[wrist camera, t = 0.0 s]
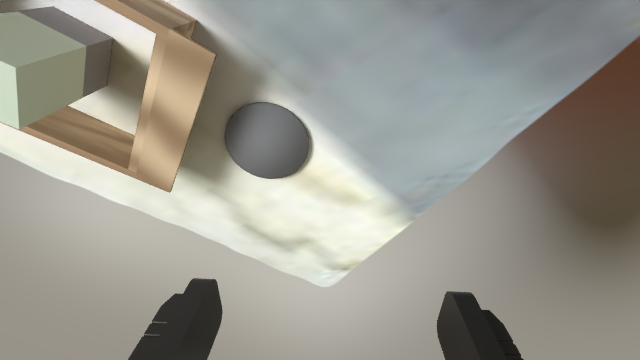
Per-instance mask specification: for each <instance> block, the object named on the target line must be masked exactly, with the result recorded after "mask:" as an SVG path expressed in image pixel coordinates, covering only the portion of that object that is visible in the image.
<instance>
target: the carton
mask: <svg viewBox="0 0 640 360" xmlns="http://www.w3.org/2000/svg"><path fill="white" fill-rule="evenodd" d="M95 1H97V2H99V3H101V4H103V5H104V6H106V7H108V8H110V9H112V10H114V11H115V12H117V13H119V14H121V15H123V16H125V17H127V18H128V19H130V20H132V21H134V22H136V23H138V24H139V25H141V26H143V27H145V28H147V29H149V30H150V31H152V32H154V33H156V37H155V42H154V47H153V52H152V57H151V61H150V66H149V71H148V76H147V81H146V85H145V90H144V95H143V100H142V105H141V109H140V114H139V119H138V124H137V129H136V133H135V136H133V135H131V134H129V133H126V132H124V131H122V130H120V129H118V128H115V127H113V126H111V125H109V124H106V123H104V122H102V121H100V120H98V119H95V118H93V117H91V116H89V115H86V114H84V113H82V112H80V111H77V110H75V109H73V108H71V107H69V106H65V107H63V108H61V109H59V110H57V111H55V112H53V113H51V114H49V115H47V116H45V117H43V118H41V119H39V120H37V121H35V122H33V123H31V124H29V125H27V126H25V127H23V128H21V129H17V128H15V129H17V130H20V131H22V132H25V133H27V134H29V135H32V136H34V137H37V138H39V139H41V140H44V141H46V142H49V143H51V144H54V145H56V146H58V147H61V148H63V149H66V150H68V151H70V152H73V153H75V154H78V155H80V156H82V157H85V158H87V159H90V160H92V161H95V162H97V163H99V164H102V165H104V166H107V167H109V168H111V169H114V170H116V171H119V172H121V173H123V174H126V175H128V176H131V177H133V178H136V179H138V180H140V181H143V182H145V183H148V184H150V185H152V186H155V187H157V188H160V189H162V190H164V191H167V192H169V193H170V192H171V190H172V187H173V184H174V181H175V178H176V175H177V172H178V169H179V166H180V163H181V160H182V157H183V154H184V151H185V148H186V145H187V142H188V139H189V136H190V133H191V130H192V127H193V124H194V121H195V118H196V115H197V112H198V109H199V106H200V103H201V100H202V97H203V94H204V91H205V88H206V85H207V82H208V79H209V76H210V74H211V71H212V68H213V65H214V62H215V59H216V56H217V53H215V52H214V51H212V50H210V49H208V48H206V47H205V46H203V45H201V44H199V43H197V42H196V41H194V40H192V39H191V37H192V33H193V30H194V26H195V22H196V19H194V18H192V17H190V16H189V15H187V14H185V13H183V12H182V11H180V10H178V9H176V8H175V7H173V6H171V5H170V4H168V3H166V2H164V1H163V0H95ZM0 123H2V122H0ZM3 124H5V123H3ZM5 125H7V124H5ZM8 126H9V125H8ZM10 127H12V126H10ZM12 128H14V127H12Z"/></svg>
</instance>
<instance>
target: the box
mask: <svg viewBox="0 0 640 360" xmlns="http://www.w3.org/2000/svg"><path fill="white" fill-rule="evenodd" d="M112 43H113V38H112V37H110V36H108V35H106V34H105V33H103V32H101V31H99V30H97V29H95V28H93V27H91V26H89V25H87V24H85V23H83V22H82V21H80V20H78V19H76V18H74V17H72V16H70V15H68V14H66V13H64V12H62V11H60V10H59V9H57V8H55V7H45V8H38V9H30V10H22V11H14V12H7V13H0V122H2V123H5V124H7V125H9V126H12V127H14V128H17V129H21V128H23V127H25V126H27V125H29V124H31V123H33V122H35V121H37V120H39V119H41V118H43V117H45V116H47V115H49V114H51V113H53V112H55V111H57V110H59V109H61V108H63V107H65V106H67V105H69V104H71V103H73V102H75V101H77V100H79V99H81V98H83V97H85V96H87V95H89V94H91V93H93V92H95V91H97V90H99V89H101V88H103V87H105V86H107V82H108V74H109V67H110V59H111V51H112Z"/></svg>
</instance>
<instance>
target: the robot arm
mask: <svg viewBox="0 0 640 360" xmlns="http://www.w3.org/2000/svg"><path fill="white" fill-rule="evenodd" d="M221 319H222V305H221V300H220V295H219V291H218V285H217V281H216V280H215V279H198V278H194V279H192V280H191V281H190V283H189V284H188V286H187V288H186V290H185V292H184V293H183V294H174V295H173V296H172V297H171V298H170V299H169V300H167V302H165V303H164V304H163V305H162V306H161V307H160V309H159V311H158V312H157V314H156V315H155V317H154V319H153V320H152V324H150V325H149V327H148V328H147V330H146V332H145V333H144V337H142V338H141V340H140V341H139V343H138V344H137V346H136V348H135V349H134V351H133V352H132V354H131V356H130V357H129V359H128V360H207V358H208V356H209V353H210V350H211V348H212V345H213V343H214V340H215V337H216V335H217V332H218V330H219V327H220V324H221ZM437 333H438V338H439V342H440V344H441V348H442V351H443V354H444V357H445V360H523V359H522V358H521V354H520V353H519V351H518V349H517V347H516V345H514V344H513V340H512V339H511V337H510V335H509V333H508V332H507V330H506V328H505V326H504V325H503V323H502V322H500V320H498V319H497V317H496V316H495V315H494V314H493V313H492V312H490V311H489V310H481V308H480V306H479V304H478V302H477V300H476V298H475V297H474V295H473V294H472V293H469V292H450V291H449V292H446V294H445V297H444V301H443V303H442V307H441V310H440V313H439V317H438V320H437Z"/></svg>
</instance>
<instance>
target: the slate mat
mask: <svg viewBox="0 0 640 360" xmlns="http://www.w3.org/2000/svg"><path fill="white" fill-rule="evenodd" d="M225 143H226V147H227V150H228V152H229V154H230V156H231V157H232V159H233V160H234V161H235V162H236V164H237V165H238V166H240V167H241V168H242V169H243V170H245V171H246V172H248V173H250V174H252V175H255V176H258V177H261V178H268V179H276V178H282V177H286V176H288V175H291V174H292V173H294V172H295V171H297V170H298V169H299V168H300V167H301V166H302V164H303V163H304V161H305V159H306V157H307V153H308V148H309V140H308V135H307V132H306V129H305V127H304V125H303V124H302V122H301V121H300V120H299V119H298V117H297V116H296V115H294V114H293V113H292V112H291V111H289V110H288V109H286V108H284V107H282V106H280V105H276V104H273V103H266V102H258V103H252V104H249V105H246V106H244V107H242V108H241V109H239V110H238V111H237V112H236V113H235V114H234V115H233V116H232V118H231V119H230V120H229V122H228V124H227V127H226V131H225Z"/></svg>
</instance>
